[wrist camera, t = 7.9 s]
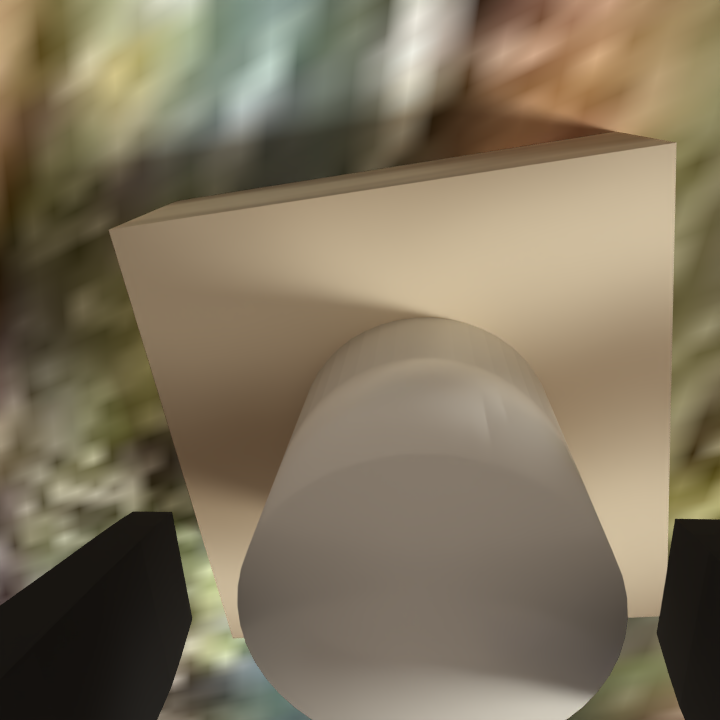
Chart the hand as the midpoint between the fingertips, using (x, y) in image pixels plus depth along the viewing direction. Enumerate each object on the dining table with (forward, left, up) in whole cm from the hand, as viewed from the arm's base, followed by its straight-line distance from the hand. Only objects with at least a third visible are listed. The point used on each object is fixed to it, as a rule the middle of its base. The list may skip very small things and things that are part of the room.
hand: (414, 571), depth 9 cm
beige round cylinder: (0, 0, -4) cm, 4 cm away
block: (0, 0, -8) cm, 8 cm away
